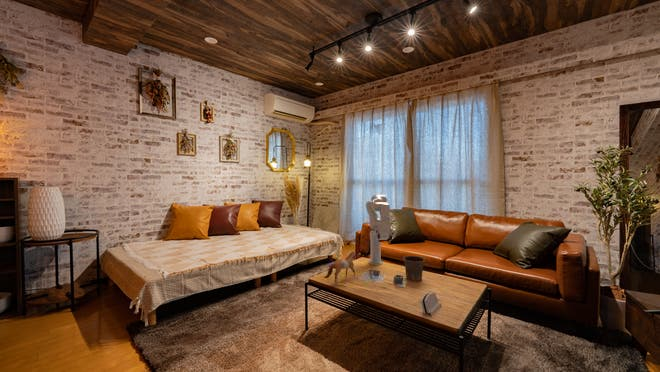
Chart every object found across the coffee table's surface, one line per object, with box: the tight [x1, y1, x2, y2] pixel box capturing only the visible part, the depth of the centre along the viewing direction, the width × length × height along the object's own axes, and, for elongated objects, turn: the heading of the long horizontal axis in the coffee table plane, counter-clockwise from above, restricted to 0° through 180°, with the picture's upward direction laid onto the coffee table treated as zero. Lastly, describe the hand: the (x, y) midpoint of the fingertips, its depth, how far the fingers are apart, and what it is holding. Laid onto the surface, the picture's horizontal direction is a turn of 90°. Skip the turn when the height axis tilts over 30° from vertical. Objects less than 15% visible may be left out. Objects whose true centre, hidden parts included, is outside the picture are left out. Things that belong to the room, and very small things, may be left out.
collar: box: [393, 274, 404, 285], centre depth 206 cm, size 6×6×5 cm
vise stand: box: [357, 269, 386, 284], centre depth 216 cm, size 18×18×6 cm
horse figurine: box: [323, 251, 357, 286], centre depth 211 cm, size 31×8×21 cm, turn 126°
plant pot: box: [403, 255, 425, 282], centre depth 217 cm, size 16×16×16 cm
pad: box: [394, 280, 408, 289], centre depth 207 cm, size 11×11×1 cm
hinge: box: [420, 292, 442, 316], centre depth 168 cm, size 17×5×10 cm, turn 138°
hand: (384, 239), depth 223 cm, fingers open, 9 cm apart
